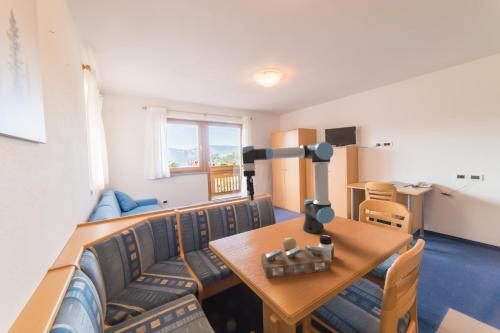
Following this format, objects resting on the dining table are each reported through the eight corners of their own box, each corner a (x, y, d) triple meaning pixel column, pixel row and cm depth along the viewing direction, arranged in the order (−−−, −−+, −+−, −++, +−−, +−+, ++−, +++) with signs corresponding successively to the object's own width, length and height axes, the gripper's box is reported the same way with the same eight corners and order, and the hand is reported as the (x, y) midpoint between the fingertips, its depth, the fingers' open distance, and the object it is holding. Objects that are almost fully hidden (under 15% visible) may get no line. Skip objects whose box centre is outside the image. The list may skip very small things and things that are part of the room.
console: (318, 256, 109) (317, 245, 109) (330, 270, 96) (330, 257, 96) (261, 263, 105) (260, 251, 105) (266, 278, 92) (266, 264, 92)
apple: (292, 253, 114) (284, 241, 115) (285, 253, 121) (278, 241, 122) (301, 245, 118) (294, 233, 119) (293, 245, 125) (287, 235, 126)
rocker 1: (280, 250, 101) (279, 247, 101) (282, 253, 98) (281, 250, 98) (266, 257, 100) (265, 254, 100) (268, 260, 97) (266, 257, 97)
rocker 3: (318, 251, 104) (319, 248, 104) (321, 254, 101) (322, 251, 101) (304, 248, 103) (305, 244, 103) (307, 250, 100) (308, 247, 100)
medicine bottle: (331, 262, 103) (331, 240, 103) (318, 259, 107) (317, 237, 107) (334, 256, 109) (333, 235, 109) (320, 253, 113) (320, 233, 113)
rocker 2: (300, 248, 103) (298, 245, 102) (302, 251, 99) (301, 248, 99) (286, 255, 102) (285, 252, 102) (288, 258, 99) (287, 255, 98)
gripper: (241, 169, 138) (243, 199, 139) (245, 171, 113) (247, 208, 114) (252, 168, 138) (253, 198, 140) (257, 171, 114) (259, 207, 115)
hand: (250, 202), depth 127 cm, fingers open, 13 cm apart
